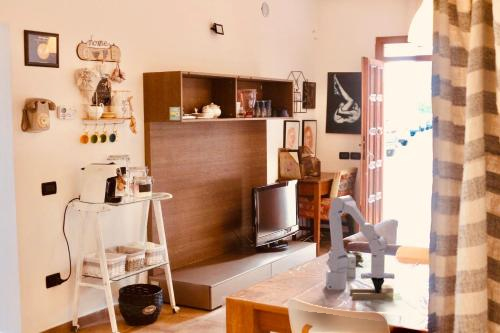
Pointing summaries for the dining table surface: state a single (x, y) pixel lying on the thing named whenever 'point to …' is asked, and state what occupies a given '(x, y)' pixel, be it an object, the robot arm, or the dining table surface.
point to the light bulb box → (351, 266)
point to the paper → (357, 254)
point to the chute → (371, 295)
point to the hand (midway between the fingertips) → (377, 294)
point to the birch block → (387, 291)
